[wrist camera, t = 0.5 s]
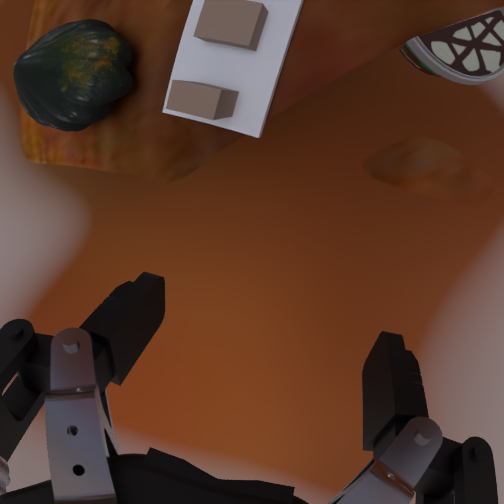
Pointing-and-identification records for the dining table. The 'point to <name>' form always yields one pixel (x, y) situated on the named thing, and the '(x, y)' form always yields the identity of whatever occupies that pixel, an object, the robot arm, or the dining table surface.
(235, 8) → the display stand
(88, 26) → the squash
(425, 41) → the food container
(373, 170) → the dining table surface
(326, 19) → the dining table surface
